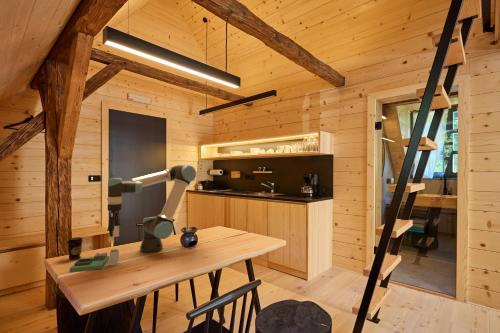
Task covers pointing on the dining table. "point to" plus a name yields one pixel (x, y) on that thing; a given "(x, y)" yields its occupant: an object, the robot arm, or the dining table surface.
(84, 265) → the board
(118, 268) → the dining table surface
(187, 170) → the robot arm
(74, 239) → the coffee cup
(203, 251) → the dining table surface
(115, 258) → the plug
